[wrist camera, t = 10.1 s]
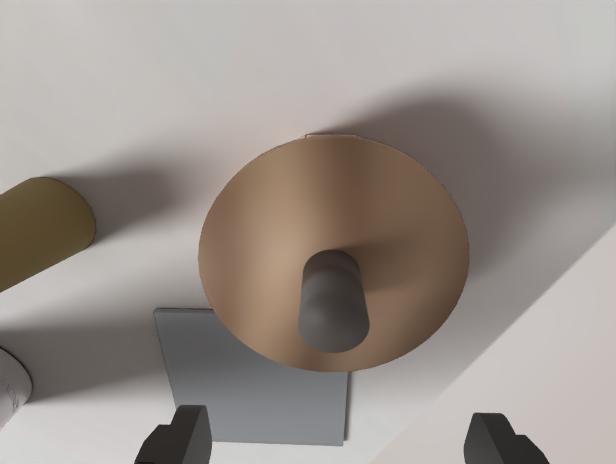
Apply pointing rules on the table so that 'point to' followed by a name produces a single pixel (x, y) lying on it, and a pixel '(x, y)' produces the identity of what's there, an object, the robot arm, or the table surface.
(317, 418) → the mat
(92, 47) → the table surface
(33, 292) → the table surface
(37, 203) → the cork
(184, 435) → the robot arm
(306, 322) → the lid
